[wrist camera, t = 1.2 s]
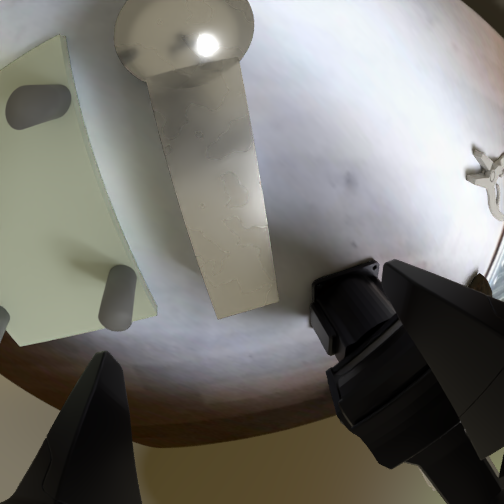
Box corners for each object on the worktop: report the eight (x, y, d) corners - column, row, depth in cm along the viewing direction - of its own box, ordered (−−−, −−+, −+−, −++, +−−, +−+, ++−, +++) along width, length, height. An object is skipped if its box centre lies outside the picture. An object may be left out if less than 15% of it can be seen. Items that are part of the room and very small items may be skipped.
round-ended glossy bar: (227, -10, 11) (241, -36, 7) (275, 262, 21) (294, 296, 18) (121, 13, 10) (106, -8, 7) (196, 284, 21) (202, 323, 17)
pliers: (508, 225, 27) (464, 213, 23) (501, 219, 28) (453, 206, 24) (528, 161, 22) (489, 124, 18) (520, 157, 23) (477, 120, 19)
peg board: (65, 36, 10) (27, 21, 5) (157, 306, 21) (157, 357, 17) (-75, 145, 8) (-113, 167, 4) (22, 338, 19) (9, 380, 15)
